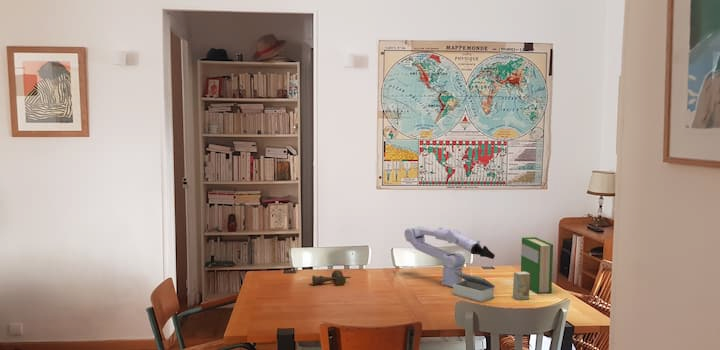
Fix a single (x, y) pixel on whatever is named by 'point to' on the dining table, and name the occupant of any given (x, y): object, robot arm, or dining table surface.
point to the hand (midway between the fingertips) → (490, 256)
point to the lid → (474, 279)
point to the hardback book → (537, 263)
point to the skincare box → (521, 285)
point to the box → (473, 291)
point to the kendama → (331, 278)
